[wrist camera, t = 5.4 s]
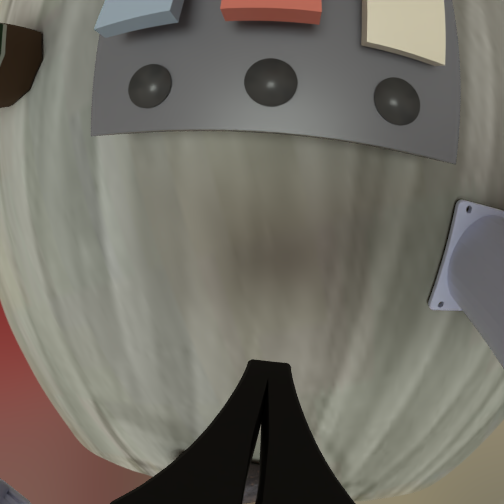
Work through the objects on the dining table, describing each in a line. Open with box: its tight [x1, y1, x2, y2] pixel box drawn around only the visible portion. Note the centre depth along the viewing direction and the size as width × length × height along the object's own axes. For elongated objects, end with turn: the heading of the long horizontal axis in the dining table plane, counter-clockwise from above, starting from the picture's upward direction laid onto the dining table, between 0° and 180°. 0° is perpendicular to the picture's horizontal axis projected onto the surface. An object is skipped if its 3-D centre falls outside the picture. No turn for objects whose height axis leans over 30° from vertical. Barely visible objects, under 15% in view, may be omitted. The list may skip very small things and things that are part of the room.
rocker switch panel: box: [91, 0, 460, 164], centre depth 11 cm, size 18×13×4 cm
